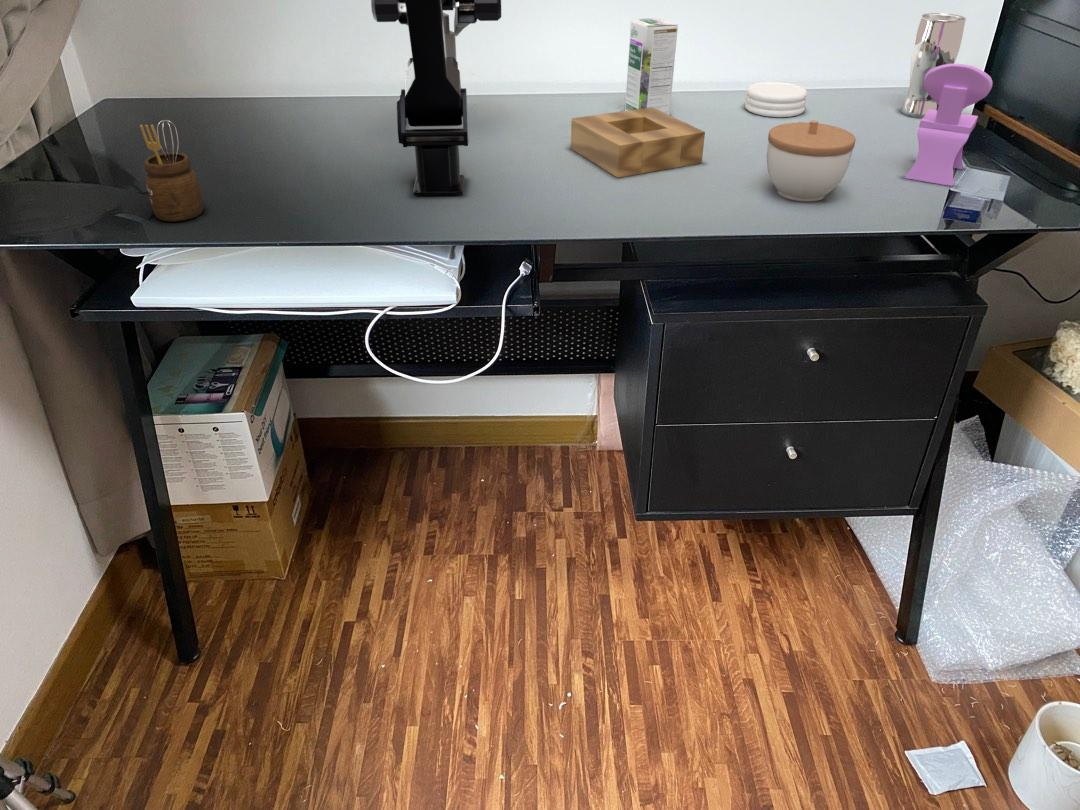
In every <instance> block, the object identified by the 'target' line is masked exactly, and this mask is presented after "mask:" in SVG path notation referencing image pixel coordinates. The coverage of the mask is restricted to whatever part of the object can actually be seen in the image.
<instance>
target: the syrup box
mask: <svg viewBox="0 0 1080 810" xmlns="http://www.w3.org/2000/svg"><path fill="white" fill-rule="evenodd" d="M678 29H679V24H678V23H673V22H669V21H667V20H664V19H662V18H657V17H656V18H655V17H644V18H638V19H634V20H631V21H630V29H629V43H628V59H627V60H628V62H627V74H626V89H625V102H624V111H628V110H635V109H642V108H650V107H653V108H655V109H657V110H660V111H662V112H664V113H666V114H668V115H670V112H671V102H672V91H673V83H674V82H673V81H674V71H675V60H676V51H677V50H676V49H677V41H678Z"/></svg>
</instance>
